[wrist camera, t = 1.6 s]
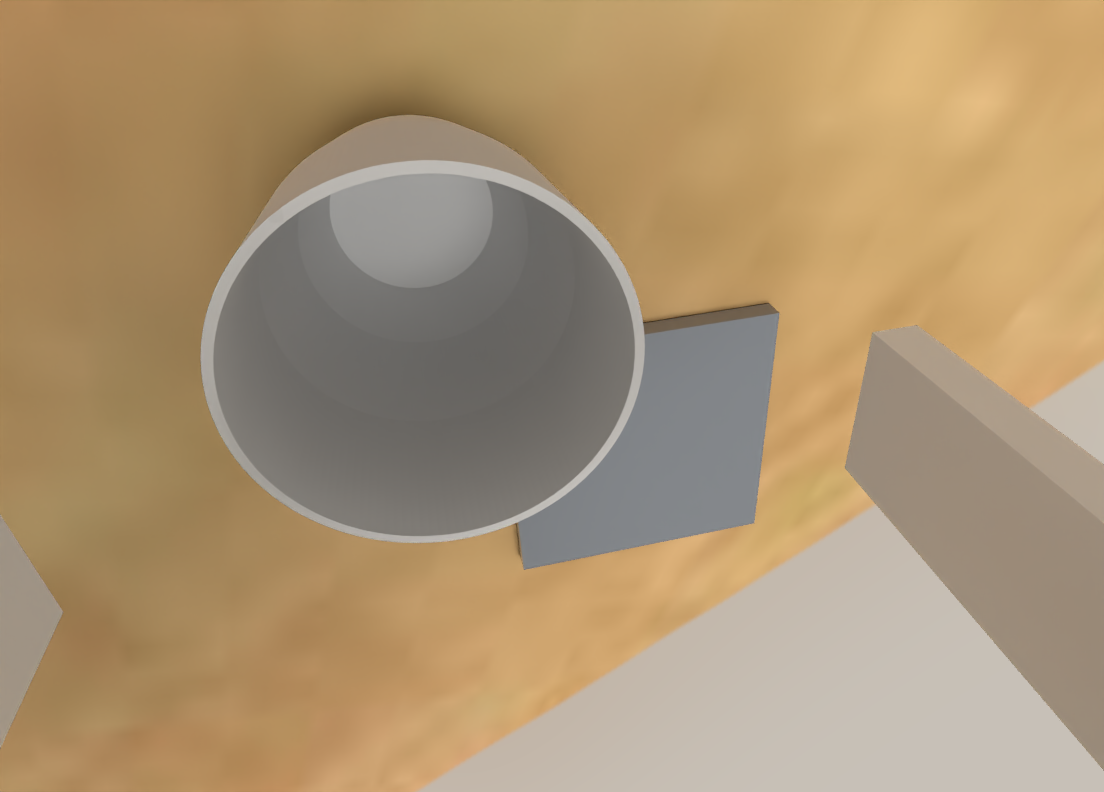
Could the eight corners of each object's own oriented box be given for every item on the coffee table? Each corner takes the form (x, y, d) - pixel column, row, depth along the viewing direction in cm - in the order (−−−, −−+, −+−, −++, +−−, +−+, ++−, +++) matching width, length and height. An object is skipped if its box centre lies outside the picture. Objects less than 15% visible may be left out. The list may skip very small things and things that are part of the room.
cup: (488, 359, 25) (545, 569, 17) (239, 290, 22) (161, 504, 14) (586, 131, 22) (719, 255, 13) (308, 11, 19) (260, 76, 10)
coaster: (520, 555, 30) (523, 569, 30) (494, 346, 25) (498, 358, 24) (746, 510, 32) (754, 523, 31) (769, 303, 26) (779, 312, 26)
